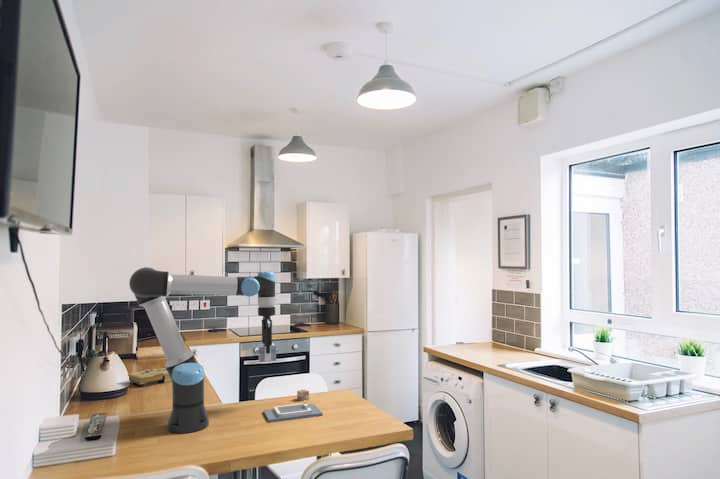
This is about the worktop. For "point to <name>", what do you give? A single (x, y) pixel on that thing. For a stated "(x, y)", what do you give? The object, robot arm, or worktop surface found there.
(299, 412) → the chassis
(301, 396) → the oak block
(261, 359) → the servo block
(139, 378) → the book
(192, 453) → the worktop surface
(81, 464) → the worktop surface
